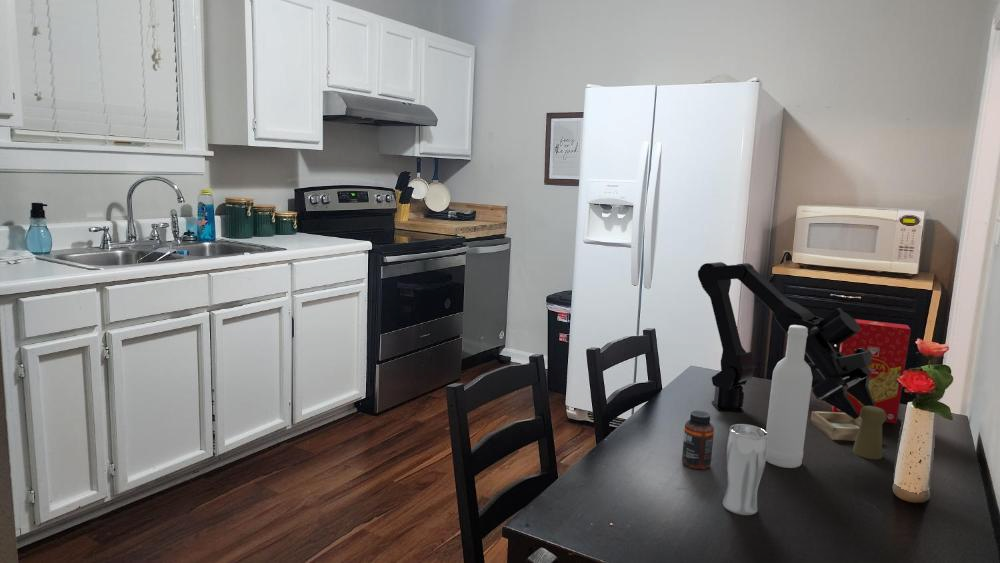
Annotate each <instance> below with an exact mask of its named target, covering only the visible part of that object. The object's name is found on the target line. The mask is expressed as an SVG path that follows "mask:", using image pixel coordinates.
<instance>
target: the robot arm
mask: <svg viewBox="0 0 1000 563" xmlns="http://www.w3.org/2000/svg"><path fill="white" fill-rule="evenodd" d="M697 277H698V280H699V282H700V285H701V287H702V289H703V291H704V292H705V293H706V294H707V296H708V297H709V298H710V303H711V307H712V310H713V314H714V320H715V323H716V327H717V331H718V336H719V339H720V340H719V341H720V343H721V348H722V353H721V358H720V370H721V371H719V372H718V373H716V374H714V376H711V382H712V386H714V387H715V388H714V396H713V397H714V398H713V400H711V404H712V405H713V406H714V407H715V408H716V409H717V411H722V412H723V411H724V412H725V411H726V412H728V411H729V412H741V413H742V412H743V411H744V409H743V408H744V407H743V406H744V397H745V392H744V386H745V385H747V382H748V381H749V380H750V379H752V377H753V376H754V374H755V368H756V367H757V366H756V363H755V362H754V356H753V352H752V351H748V352H747V351H746V350H745V349H744V347H743V345H742V343H741V342H742V341H741V338H740V334H739V330H738V327H737V326H738V325H737V322H736V318H735V314H734V309H733V305H732V301H731V297H730V289H731V285H732V280H739V282H740V283H741V284H743V285H744V286H745V287H746V288H747V289H748V290H749V292H751V293H753V294H754V295H755V296H756V297H757V299H759V301H761V302H762V303H763V304H764V305H765V306H766V307H767V308H768V309H769V310H770V311H771V313H772V314H773V316H774V319H775V321H776V322H777V323H778V325H779V326H780V328H781V329H782V330H783V331H784V332H785V333H786V334H788V330H789V326H791V325H800V326H805V327H806V328H807V329H808V331H807V333H808V336H807V339H806V347H805V355H806V356H807V357H808V359H809V360H810V362H811V363H812V364H813V365H812V366H811V370H813V371H816V370H817V371H818V372H819V374H820V375H821V377H822V378H823V380H821V381H820V382H817V383H816V384H814V385H813V386H812V388H811V393H812V394H813V396H814V397H815V398H816V400H818V399H820V401H822V402H825V403H827V404H829V405H831V407H832V406H834V407H836V408H838V409H839V410H841V411H843V412H844V413H846V414H847V415H849V416H851V417H852V418H854V419H857V418H858V417H859V415H858V413H857V411H856V409H855V407H854V406H853V404H852V402H851V401H850V399H849V397H848V396H847V392H848V393H850V394H851V395H852V396H853V397H855V398H856V399H857V400H858V401H860V402H861V403H862V404H863V405H864V406H875V404H874V401H873V399H872V396H871V393H870V390H869V387H868V384H869V380H870V378H871V376H868V375H870V374H871V371H870V370H869V369H868V365H872V362H871V358H872V354H870V353H869V351H867V350H866V349H865V348H859V349H856V350H855V351H854V354H852V355H848V356H844V354H843V353H842V352H840V351H836V350H835V349H834V347H833V346H832V345H833V344H834V345H836V346H840V344H841V343H843V342H844V341H846V340H847V339H849V338H850V337H852V336H853V335H855V334H856V333H858V332H859V331H860V327H859V325H858V323H857V322H856V320H855V319H856V318H854V317H852V316H851V315H850V314H848V313H847V312H845V311H843V309H842V308H840V307H839V308H836V309H834V310H833V311H832V312H831V313H830V314H829V315H827V316H826V317H825V318H823V317H819V316H815V315H814V314H813V313H812V311H810V310H808V309H807V308H806V307H804V306H802V305H801V304H799V303H797V302H795V301H792V300H790V299H788V298H787V297H786V296H785V295H784V294H782V293H781V292H780V291H779V290H778V289H777V288H776V287H775V286H774V285H773V284H772V283H771V282H769V280H767V279H766V278H765V277H764V276H763V275H762V274H761V273H760V272H758V271H757V270H756V268H755V267H754V266H753V265H752V264H750V263H749V262H746V263H745V262H743V263H737V264H729V265H728V264H726V263H725V262H722V261H719V262H708V263H707V262H706V263H703V264H702V265H701V266H700V268H698V270H697ZM817 329H818V330H817ZM813 330H817V331H815V332H814V333H813V332H809V331H813ZM867 376H868V377H867ZM865 377H866V378H865ZM743 385H744V386H743ZM842 386H843V387H842ZM847 387H849V388H848V389H847Z"/></svg>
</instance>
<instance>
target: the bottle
mask: <svg viewBox="0 0 1000 563" xmlns="http://www.w3.org/2000/svg"><path fill="white" fill-rule="evenodd" d="M808 332H809V331H808V329H807V328H806V327H805V326H800V325H791V326H789V330H788V333H787V343H786V349H785V350H786V351H785V357H783V358H782V359H781V360H779V361H778V362H777V363H776V365H775V367H774V368H773V370H772V378H771V386H770V395H769V402H768V403H769V404H768V411H767V419H766V428H765V431H766V432H767V433H768V440H767V457H766V462H767V463H769V464H771V465H773V466H776V467H779V468H786V469H787V468H788V469H794V468H795V469H797V468H799V467H801V465H802V462H803V457H804V447H805V439H806V431H807V423H808V415H809V409H810V399H811V393H812V387H813V386H812V385H813V374H812V367H811V366H810V365H809V364H808V363H807V362H806V360H805V355H806V353H805V347H806V339H807V336H808Z"/></svg>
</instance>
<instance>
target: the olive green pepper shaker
mask: <svg viewBox="0 0 1000 563" xmlns="http://www.w3.org/2000/svg"><path fill="white" fill-rule="evenodd" d="M860 418H861V419H862V421H861V424H860V427H859V430H858V434H857V437H856V440H855V441H854V443H853V447H852V452H853V454H855V455H856V456H858V457H861V458H864V459H867V460H880V459H882V458H883V424H884V423H886V422H885V420H886V413H885V411H884V410H883V409H881V408H879V407H875V406H864V407H862V409H861V410H860Z"/></svg>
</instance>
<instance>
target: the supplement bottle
mask: <svg viewBox="0 0 1000 563" xmlns="http://www.w3.org/2000/svg"><path fill="white" fill-rule="evenodd" d="M683 431H684V432H683V444H682V455H681V457H682V458H681V461H682V464H683V465H685V466H686V467H687V468H690V469H694V470H707V469H708V468H710V467H711V465H712V464H711V463H712V455H713V454H712V453H713V445H714V444H713V443H714V435H715V434H714V431H715V429H714V425H713V424H712V423H711V414H710V413H708V412H706V411H704V410H693V411H691V412H690V417H689V420H687V421H686V422H685V424H684V430H683Z"/></svg>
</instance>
